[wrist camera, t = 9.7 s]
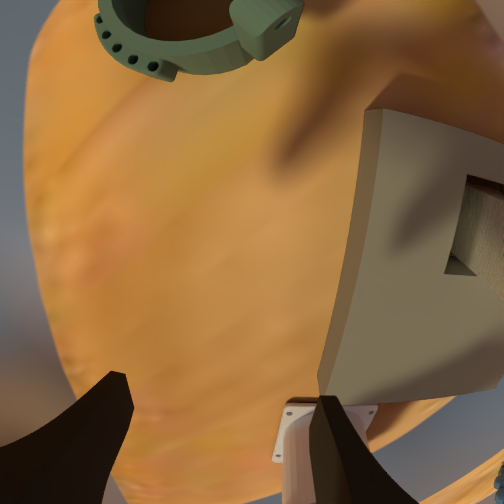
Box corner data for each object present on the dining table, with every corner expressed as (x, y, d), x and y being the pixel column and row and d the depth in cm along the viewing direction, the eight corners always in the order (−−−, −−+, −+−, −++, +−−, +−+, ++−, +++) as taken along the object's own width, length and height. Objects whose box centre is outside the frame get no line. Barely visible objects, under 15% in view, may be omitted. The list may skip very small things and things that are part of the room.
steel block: (480, 245, 17) (553, 303, 10) (436, 240, 18) (508, 305, 10) (492, 188, 16) (577, 228, 9) (448, 178, 16) (536, 217, 9)
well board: (481, 366, 22) (495, 388, 19) (317, 375, 22) (321, 405, 19) (547, 168, 15) (573, 176, 12) (364, 110, 15) (383, 108, 12)
